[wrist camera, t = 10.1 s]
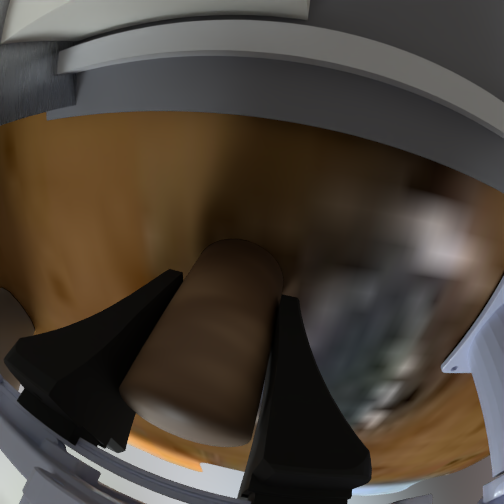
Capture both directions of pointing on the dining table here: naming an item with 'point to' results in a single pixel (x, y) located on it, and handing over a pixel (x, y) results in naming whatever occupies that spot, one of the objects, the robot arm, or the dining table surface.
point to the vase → (11, 330)
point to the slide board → (319, 73)
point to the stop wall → (32, 76)
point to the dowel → (210, 348)
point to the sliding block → (124, 15)
